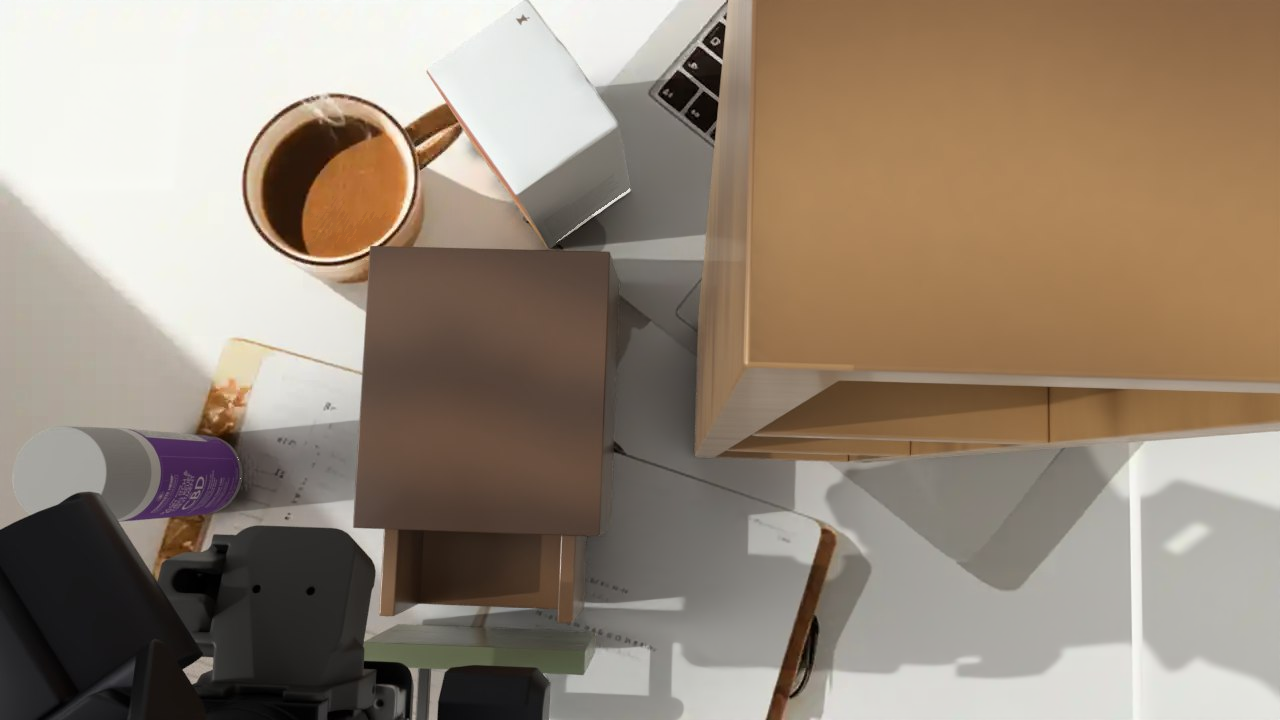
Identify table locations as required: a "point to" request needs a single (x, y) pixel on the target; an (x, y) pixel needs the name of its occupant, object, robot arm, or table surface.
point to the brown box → (488, 391)
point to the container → (128, 471)
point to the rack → (990, 227)
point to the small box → (535, 121)
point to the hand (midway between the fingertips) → (369, 699)
